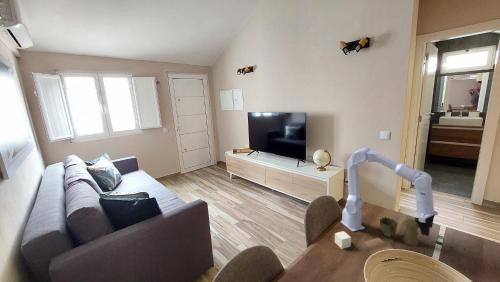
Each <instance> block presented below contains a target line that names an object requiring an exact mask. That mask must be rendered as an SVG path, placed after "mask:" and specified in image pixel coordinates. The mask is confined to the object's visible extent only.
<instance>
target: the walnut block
mask: <svg viewBox="0 0 500 282" xmlns="http://www.w3.org/2000/svg"><path fill="white" fill-rule="evenodd" d="M363 247H364V250H366V251H367V252H368V251H369V252H370V253H369V252H368V253H369V254H370V255H372V254H374V253H376V252H378V251H382V250H385V249H394V248H393V246H391V245H389V244H388V243H387V242H385V241H383V240H382V239H381V238H379V237H376V238H371V239H368V240H365V241H362V248H363Z"/></svg>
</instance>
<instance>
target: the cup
mask: <svg viewBox="0 0 500 282" xmlns="http://www.w3.org/2000/svg"><path fill="white" fill-rule="evenodd" d="M398 224H399V222H397V220H395V219H393V218H390V217H387V216H384V217H382V216H381V218H380V219H379V227H380V230H381V231H382V234H383V235H384V236H385V237H387V238H391V237H392V236H393V235H394V234H395V233H396V232H397V228H398Z"/></svg>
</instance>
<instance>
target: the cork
mask: <svg viewBox="0 0 500 282" xmlns="http://www.w3.org/2000/svg"><path fill="white" fill-rule="evenodd" d="M418 229H420V228H419V226H418V224H417V223H416V222H415V219H413V218H407V219H406V220H405V230H404V233H403V236H402V242H404V243H405V244H407V245H409V246H412V247H415V246H418V245H419V234H418Z"/></svg>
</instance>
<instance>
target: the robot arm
mask: <svg viewBox="0 0 500 282" xmlns="http://www.w3.org/2000/svg"><path fill="white" fill-rule="evenodd" d="M366 162H367V163H378V164H380V165H382V166H384V167H386V168H388V169H391V170H392V171H393V172H394V174H395V175H397V176H398V177H400V178H402V179H404V180H406V181H408V182H410V183H412V184H413V186H414V189H415V191H414V192H415V203H416V213H417V215H418V216H417V217H415V218H414V220H415V222H416V223H417V224H418V226H419V228H418V229H419V231H420V233H421V235H422V236H427V237H429V235H430V228H431V229H432V228H433V226H434V220H435V219H434V218H435V216H438V214H439V211H436V210H435V208H434V207H435V206H434V195H433V193H434V192H433V187H432V182H433V178H432V176H431V175H430V173H428V172H426V171H421V170H417V169H415V168H414V167H412V166H410V164H408V163H397V162H396V161H394V160H391V159H390V158H388V157H387V156H385V155H382V154H381V153H379V152H378V151H377V150H375V149H371V148H370V147H368V146H367V147H366V146H364V147H361V148H360V149H358V150H356V151H354V152H352V154H351V155H350V157H349V158H348V160H347V162H346V169H347V189H348V191H347V192H348V196H347V199H346V203H345V207H344V208H343V209H342V217H341V218H342V219H341V221H340V223H341V224H343V225H344V226H345V227H346V228H347V229H348V230H350V231H351V232H356V231H361V230H365V229H366V227H365V226H363V225H362V218H363V217H362V212H363V211H362V208H363V206H364V201H363V199H362V196H361V194H360V179H359V165H362V164H364V163H366Z"/></svg>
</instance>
